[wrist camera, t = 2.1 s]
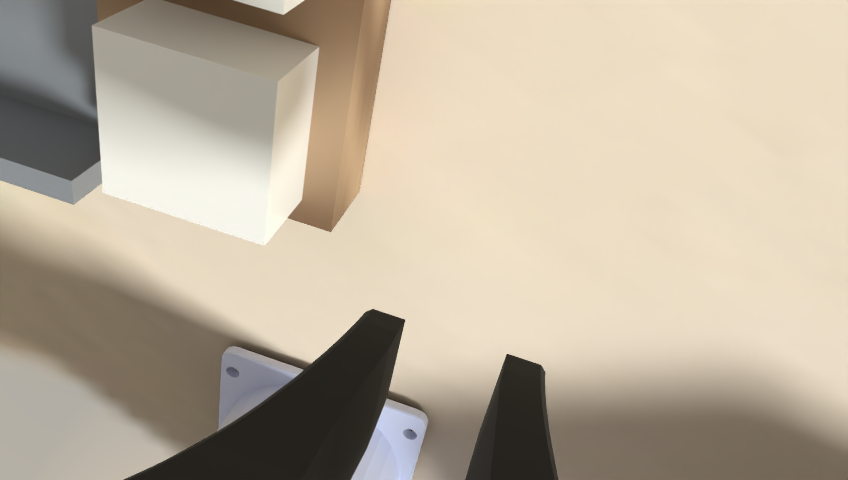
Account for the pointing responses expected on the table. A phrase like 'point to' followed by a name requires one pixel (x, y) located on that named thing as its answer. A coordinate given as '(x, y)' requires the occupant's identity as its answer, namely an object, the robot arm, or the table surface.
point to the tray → (49, 97)
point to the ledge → (320, 88)
